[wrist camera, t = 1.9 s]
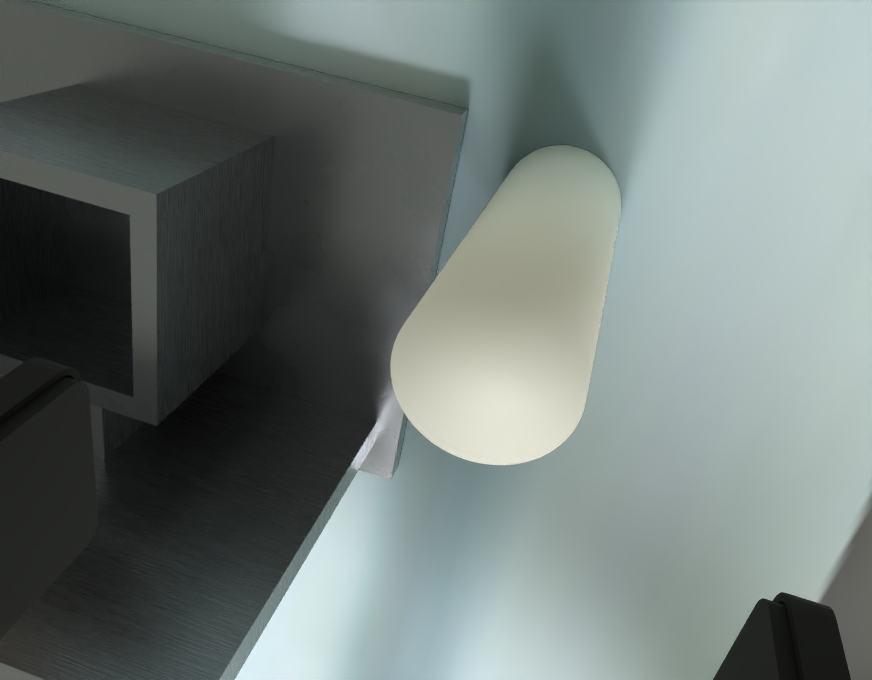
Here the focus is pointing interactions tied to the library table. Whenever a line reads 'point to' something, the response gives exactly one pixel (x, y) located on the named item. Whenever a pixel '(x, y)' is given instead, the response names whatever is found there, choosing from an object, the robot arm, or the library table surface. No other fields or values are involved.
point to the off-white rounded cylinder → (514, 315)
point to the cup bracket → (205, 318)
